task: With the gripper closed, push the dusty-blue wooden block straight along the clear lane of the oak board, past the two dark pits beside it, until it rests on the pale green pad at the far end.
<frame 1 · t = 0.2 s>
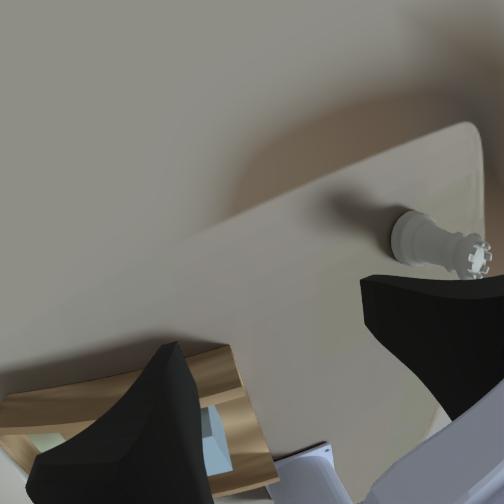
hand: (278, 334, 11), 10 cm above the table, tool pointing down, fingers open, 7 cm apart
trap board: (129, 430, 22), on the table
rook chess piece: (406, 236, 23), on the table
blue block: (188, 411, 20), point 2 cm above the table, touching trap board
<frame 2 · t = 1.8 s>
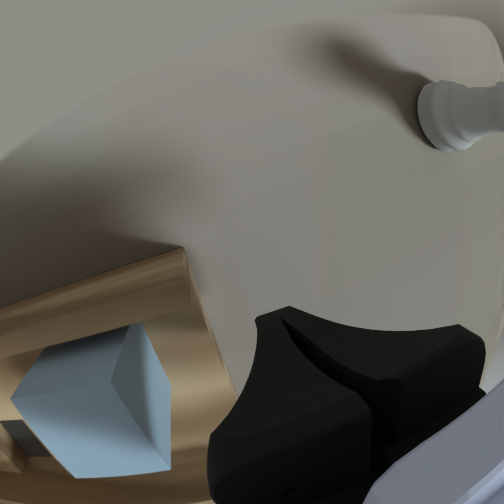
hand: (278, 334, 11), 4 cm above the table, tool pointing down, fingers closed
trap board: (49, 397, 13), on the table
rook chess piece: (436, 117, 15), on the table
blue block: (113, 360, 12), point 2 cm above the table, touching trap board
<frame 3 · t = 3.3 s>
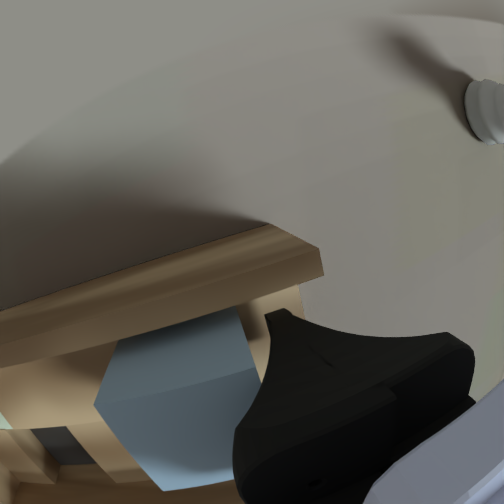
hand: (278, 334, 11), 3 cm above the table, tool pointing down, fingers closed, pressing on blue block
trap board: (96, 398, 13), on the table
rook chess piece: (478, 113, 14), on the table
blue block: (195, 349, 11), point 2 cm above the table, touching gripper, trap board
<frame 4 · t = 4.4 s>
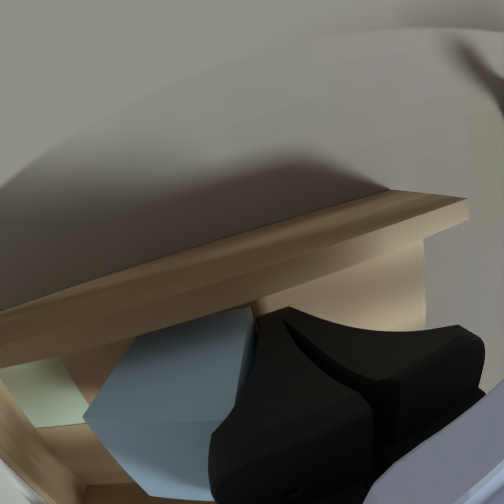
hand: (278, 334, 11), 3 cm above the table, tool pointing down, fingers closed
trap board: (209, 371, 14), on the table
blue block: (211, 361, 11), point 3 cm above the table, tilted 16°, touching gripper
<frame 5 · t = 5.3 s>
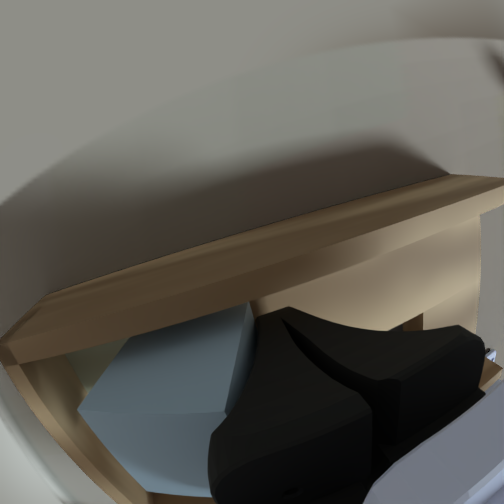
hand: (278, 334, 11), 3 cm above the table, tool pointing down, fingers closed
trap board: (303, 340, 15), on the table
blue block: (210, 356, 11), point 3 cm above the table, tilted 17°, touching gripper
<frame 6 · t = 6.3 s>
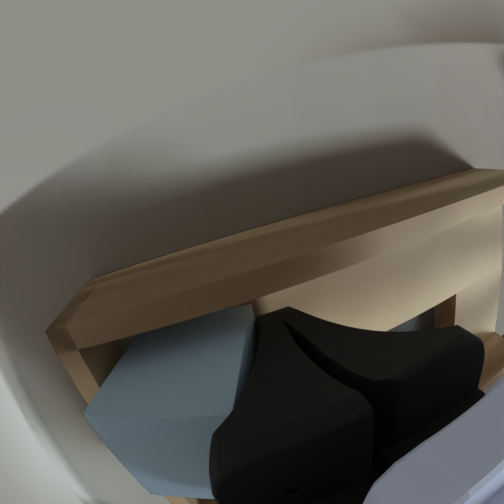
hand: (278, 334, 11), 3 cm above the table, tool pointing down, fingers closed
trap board: (349, 321, 15), on the table
blue block: (212, 359, 11), point 3 cm above the table, tilted 16°, touching gripper, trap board
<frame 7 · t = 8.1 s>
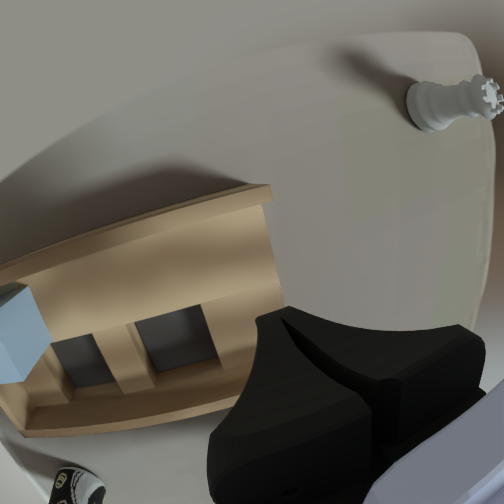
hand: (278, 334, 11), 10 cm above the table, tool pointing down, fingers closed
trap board: (117, 315, 19), on the table
rook chess piece: (420, 108, 21), on the table
beverage can: (82, 476, 22), on the table
blue block: (20, 319, 16), point 2 cm above the table, touching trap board
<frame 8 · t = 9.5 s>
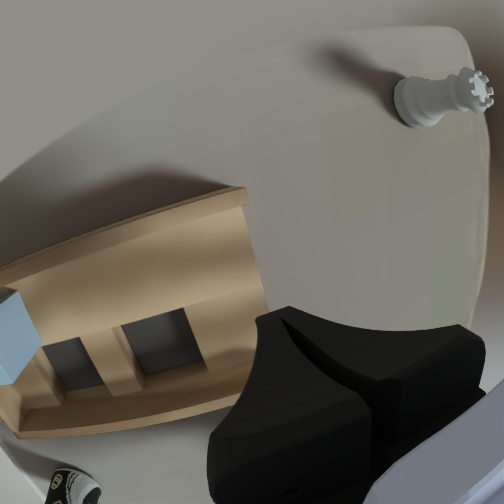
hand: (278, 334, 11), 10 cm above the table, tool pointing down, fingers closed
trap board: (104, 318, 19), on the table
rook chess piece: (409, 104, 21), on the table
beverage can: (78, 477, 22), on the table
blue block: (11, 323, 16), point 2 cm above the table, touching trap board
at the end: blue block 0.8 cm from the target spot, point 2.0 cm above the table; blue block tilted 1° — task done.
